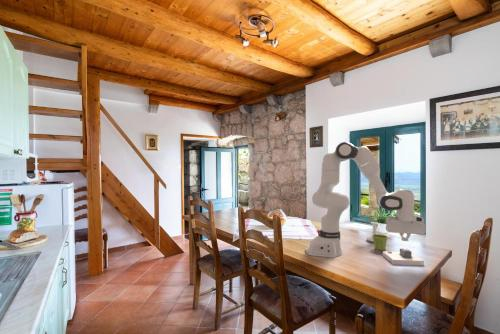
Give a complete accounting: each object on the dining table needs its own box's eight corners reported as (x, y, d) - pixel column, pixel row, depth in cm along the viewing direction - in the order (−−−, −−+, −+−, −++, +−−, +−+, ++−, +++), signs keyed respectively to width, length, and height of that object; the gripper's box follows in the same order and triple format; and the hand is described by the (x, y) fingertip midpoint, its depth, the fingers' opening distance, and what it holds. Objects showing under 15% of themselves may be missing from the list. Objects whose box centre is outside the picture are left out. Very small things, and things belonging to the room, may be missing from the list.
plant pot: (379, 252, 157) (379, 238, 157) (369, 247, 166) (368, 234, 166) (391, 250, 159) (391, 237, 160) (380, 246, 169) (380, 233, 169)
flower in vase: (379, 239, 184) (379, 206, 184) (386, 244, 173) (386, 208, 173) (361, 239, 186) (361, 206, 186) (367, 243, 174) (366, 208, 174)
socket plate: (393, 264, 137) (393, 258, 137) (382, 255, 151) (382, 250, 151) (423, 265, 135) (423, 259, 135) (410, 256, 149) (410, 251, 149)
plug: (404, 261, 141) (404, 250, 141) (399, 258, 146) (399, 247, 146) (411, 262, 140) (411, 250, 140) (407, 258, 145) (407, 248, 145)
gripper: (388, 217, 141) (388, 241, 141) (427, 218, 138) (426, 243, 138) (384, 215, 147) (383, 238, 147) (421, 216, 144) (420, 240, 144)
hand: (404, 240), depth 142 cm, fingers closed
